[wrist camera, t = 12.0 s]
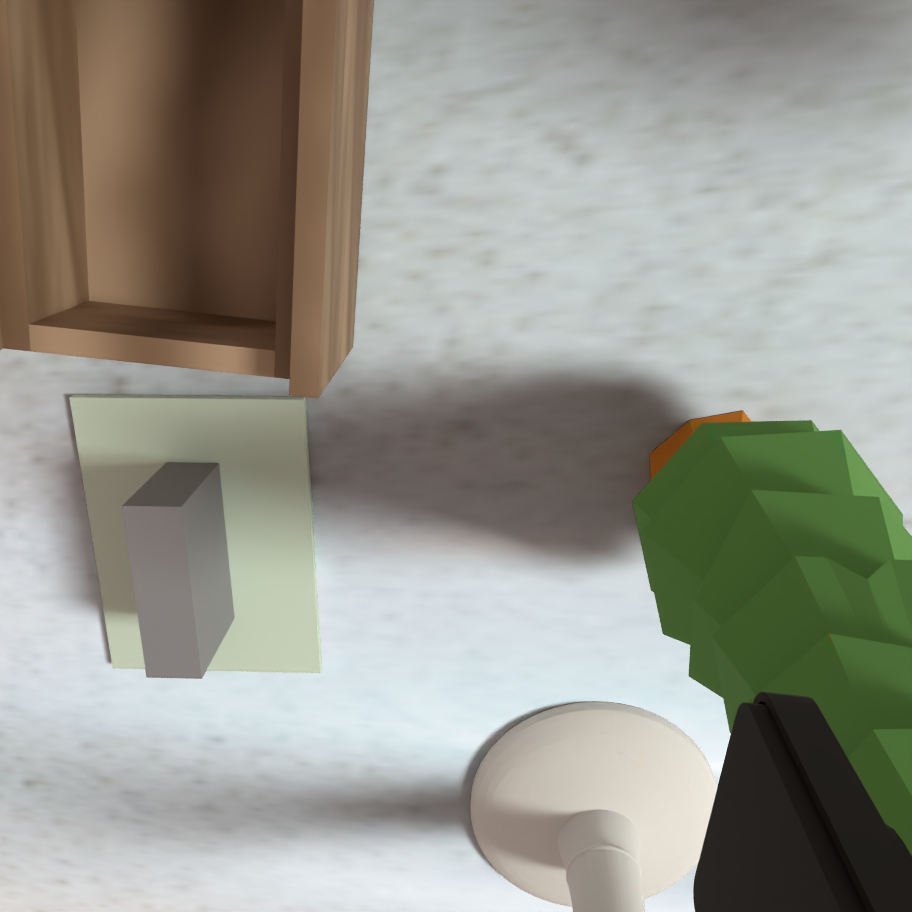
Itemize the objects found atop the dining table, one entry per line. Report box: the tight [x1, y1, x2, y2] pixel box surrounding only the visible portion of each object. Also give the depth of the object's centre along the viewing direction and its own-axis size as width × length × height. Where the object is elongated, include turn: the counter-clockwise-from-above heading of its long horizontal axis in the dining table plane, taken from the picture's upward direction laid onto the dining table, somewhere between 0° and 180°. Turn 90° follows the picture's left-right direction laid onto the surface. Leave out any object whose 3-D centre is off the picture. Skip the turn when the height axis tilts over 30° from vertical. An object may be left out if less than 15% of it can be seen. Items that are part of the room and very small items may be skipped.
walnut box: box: [0, 0, 374, 398], centre depth 31 cm, size 13×14×8 cm
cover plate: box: [69, 394, 322, 679], centre depth 38 cm, size 10×14×6 cm
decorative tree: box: [632, 411, 912, 856], centre depth 24 cm, size 10×9×30 cm
